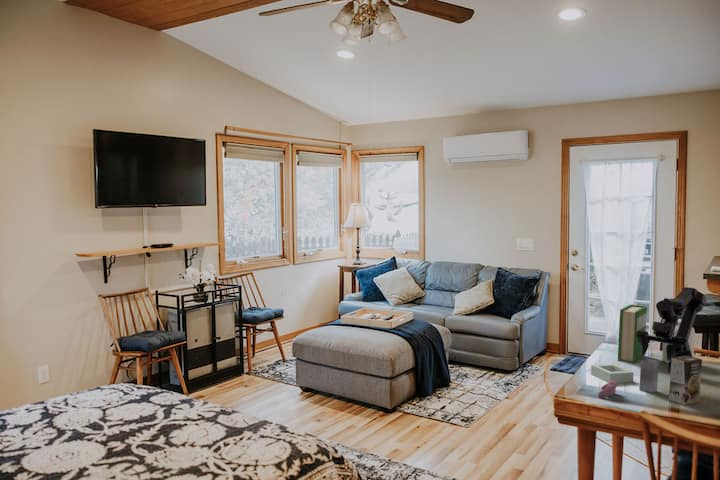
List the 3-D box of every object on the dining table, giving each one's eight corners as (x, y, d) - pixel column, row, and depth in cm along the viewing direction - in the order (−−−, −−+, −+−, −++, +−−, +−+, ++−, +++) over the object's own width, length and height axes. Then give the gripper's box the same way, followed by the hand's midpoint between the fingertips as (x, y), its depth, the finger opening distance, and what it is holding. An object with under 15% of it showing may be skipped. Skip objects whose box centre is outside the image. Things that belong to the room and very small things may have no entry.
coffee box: (685, 405, 199) (687, 362, 198) (668, 400, 205) (670, 357, 204) (700, 401, 204) (703, 359, 202) (683, 396, 209) (685, 354, 208)
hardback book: (635, 363, 251) (637, 311, 250) (617, 360, 256) (620, 309, 255) (644, 355, 265) (647, 306, 263) (627, 353, 270) (630, 304, 268)
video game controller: (608, 403, 205) (618, 388, 203) (596, 396, 207) (606, 381, 205) (611, 395, 213) (621, 381, 211) (600, 388, 215) (610, 374, 213)
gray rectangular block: (644, 387, 219) (645, 357, 218) (657, 390, 215) (659, 360, 214) (639, 389, 216) (641, 359, 215) (653, 393, 212) (654, 362, 211)
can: (660, 363, 253) (662, 320, 251) (663, 357, 263) (665, 315, 262) (692, 368, 246) (694, 324, 244) (694, 361, 256) (696, 319, 255)
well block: (613, 372, 237) (613, 363, 237) (633, 381, 226) (633, 372, 225) (590, 374, 235) (591, 365, 234) (609, 383, 223) (610, 373, 223)
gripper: (638, 310, 228) (626, 340, 221) (688, 318, 214) (677, 350, 207) (645, 326, 233) (633, 356, 227) (694, 335, 220) (683, 367, 213)
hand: (655, 357), depth 218 cm, fingers open, 9 cm apart
